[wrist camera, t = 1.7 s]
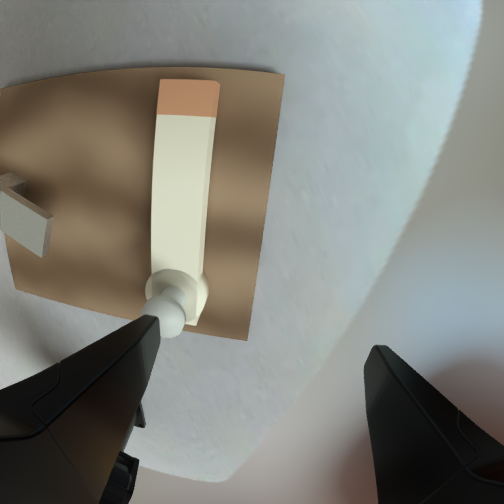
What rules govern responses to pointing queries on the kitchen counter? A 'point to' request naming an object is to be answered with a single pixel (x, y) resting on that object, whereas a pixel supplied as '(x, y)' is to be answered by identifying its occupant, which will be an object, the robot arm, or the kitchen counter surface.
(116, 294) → the base plate
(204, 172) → the bar
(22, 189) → the block
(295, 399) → the kitchen counter surface
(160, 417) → the kitchen counter surface
